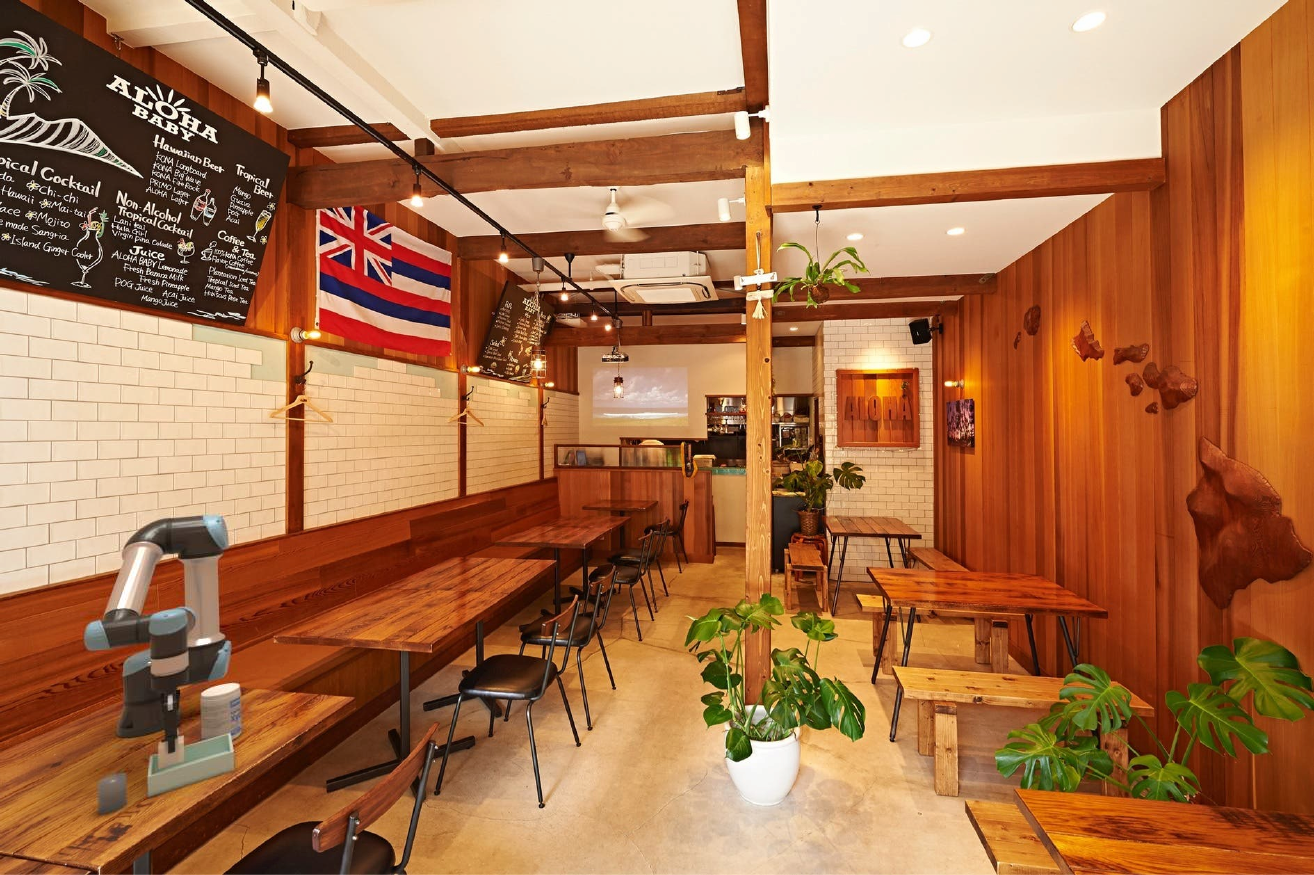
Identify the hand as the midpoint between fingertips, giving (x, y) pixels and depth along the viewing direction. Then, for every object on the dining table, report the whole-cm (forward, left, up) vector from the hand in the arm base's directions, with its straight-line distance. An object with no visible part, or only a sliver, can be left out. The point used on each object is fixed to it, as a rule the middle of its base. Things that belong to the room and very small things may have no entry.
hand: (172, 759), depth 149 cm
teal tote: (0, +4, -5) cm, 6 cm away
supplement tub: (-17, +11, -5) cm, 21 cm away
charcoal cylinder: (+6, -11, -5) cm, 13 cm away
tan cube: (0, 0, 0) cm, 0 cm away
